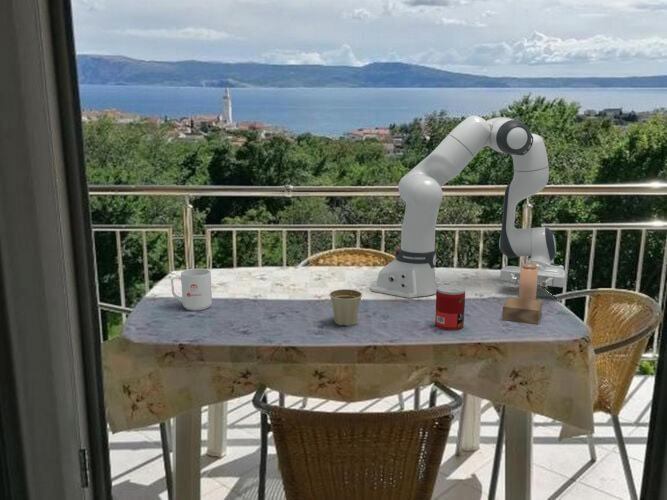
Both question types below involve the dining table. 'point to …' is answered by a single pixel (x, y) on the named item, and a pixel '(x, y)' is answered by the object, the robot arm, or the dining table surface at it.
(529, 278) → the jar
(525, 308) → the pedestal
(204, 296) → the mug
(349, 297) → the flower pot
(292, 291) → the dining table surface
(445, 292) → the canned food
